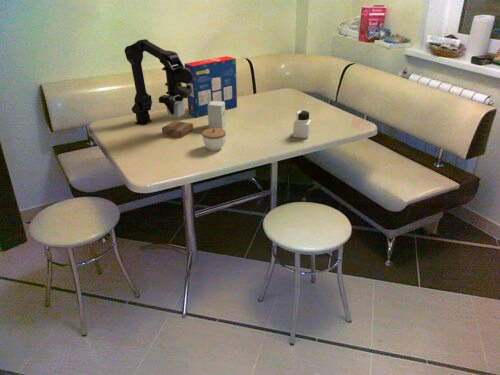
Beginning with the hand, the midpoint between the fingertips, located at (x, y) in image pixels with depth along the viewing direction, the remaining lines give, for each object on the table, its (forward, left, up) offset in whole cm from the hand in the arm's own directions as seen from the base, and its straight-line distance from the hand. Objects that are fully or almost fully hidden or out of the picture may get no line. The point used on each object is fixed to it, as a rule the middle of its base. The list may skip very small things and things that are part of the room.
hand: (176, 112), depth 202 cm
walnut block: (0, 0, -11) cm, 11 cm away
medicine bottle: (+59, +18, -11) cm, 63 cm away
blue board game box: (+1, +37, -11) cm, 38 cm away
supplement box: (+15, +14, -11) cm, 23 cm away
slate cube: (0, 0, -1) cm, 1 cm away
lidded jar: (+26, -11, -11) cm, 30 cm away
